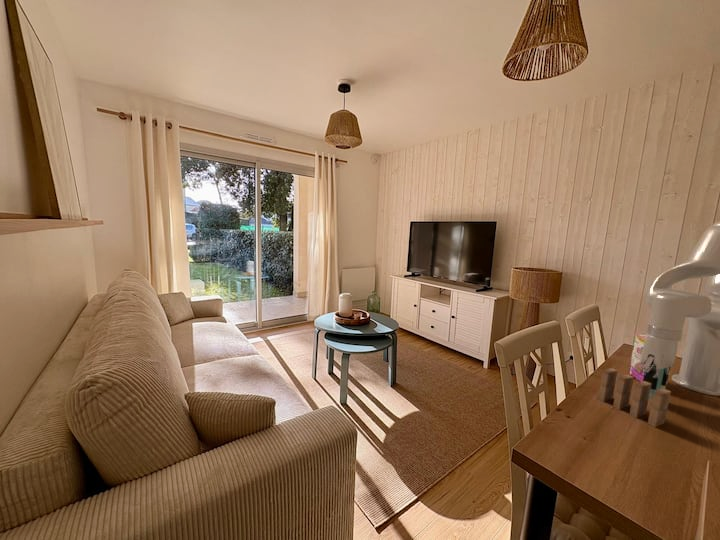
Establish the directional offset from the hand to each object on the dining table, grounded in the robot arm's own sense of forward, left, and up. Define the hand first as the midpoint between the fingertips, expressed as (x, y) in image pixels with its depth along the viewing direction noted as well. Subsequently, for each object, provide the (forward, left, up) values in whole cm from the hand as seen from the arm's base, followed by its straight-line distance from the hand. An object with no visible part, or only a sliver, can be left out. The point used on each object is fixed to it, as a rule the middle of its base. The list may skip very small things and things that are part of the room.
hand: (654, 385), depth 93 cm
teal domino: (0, 0, -4) cm, 4 cm away
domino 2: (+14, -2, -5) cm, 15 cm away
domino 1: (+14, -6, -5) cm, 16 cm away
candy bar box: (-13, -7, -6) cm, 16 cm away
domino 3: (+14, +3, -5) cm, 15 cm away
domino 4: (+14, +7, -5) cm, 16 cm away
